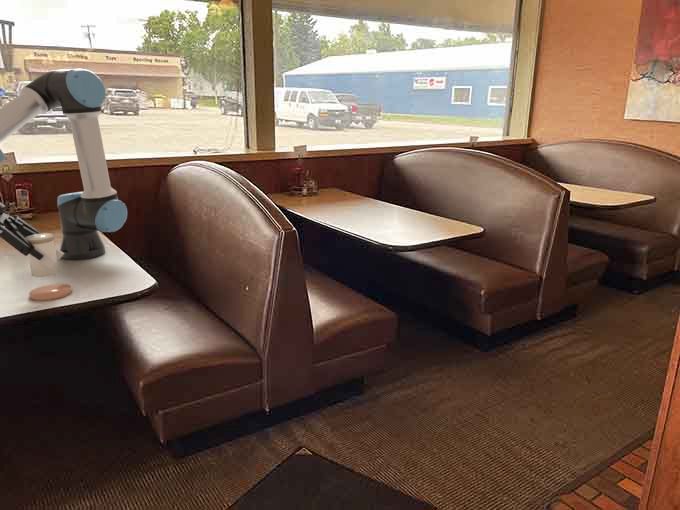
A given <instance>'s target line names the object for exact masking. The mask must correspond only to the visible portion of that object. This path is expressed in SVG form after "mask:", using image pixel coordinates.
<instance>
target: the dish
mask: <svg viewBox="0 0 680 510" xmlns="http://www.w3.org/2000/svg"><path fill="white" fill-rule="evenodd" d="M72 289H73V288H72V286H71V285H69V284H66V283H52V284H46V285H41V286H38V287H36V288H34V289H32V290H30V292H29V293H28V294H29V299H30V300H32V301H36V302H45V301H46V302H47V301H48V302H49V301H55V300H58V299H62V298H65V297H68V296H69V295H70V293H71V292H73V290H72ZM71 294H72V293H71Z"/></svg>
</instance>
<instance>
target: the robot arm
mask: <svg viewBox="0 0 680 510" xmlns="http://www.w3.org/2000/svg"><path fill="white" fill-rule="evenodd" d="M106 94H107V93H106V87H105V85H104V83H103V80H102V79H101V78H100V77H99V75H97V74H95V73H94V72H93V71H91V70H90V69H85V68H84V69H83V68H72V69H53V70H49V71H47V72H45V73H43V74H41V75H40V76H38V77H36V78H35V79H33V80H32V81H31V82H29V83H28V84H26V85H25V86H23V87H22V88H21V89H20V94H19V95H18V96H16V97H14V98H13V99H11V100H10V101H8V103H6V104H5V105H3V106H1V107H0V143H2V142H3V141H5V140H6V139H7V138H8V137H10V136H11V135H13V134H14V133H16V132H17V131H18V130H19V129H21V128H22V127H24V126H25V125H26V124H27V123H29V122H30V121H32V120H33V119H34V118H35V117H37V116H38V115H45V114H47V113H48V112H49V111H51V110H54V109H57V108H60V107H61V111H62V114H63V115H64V116H65V117H67V118H68V120H69V124H70V129H71V132H72V133H71V134H72V139H73V143H74V148H75V153H76V157H77V161H78V163H77V164H78V166H79V167H78V168H79V172H80V177H81V180H82V186H83V191H77V192H76V191H75V192H70V193H65V194H60V195H58V196H57V201H56V202H57V206H56V207H57V209H58V214H59V221H60V227H61V232H62V233H61V234H62V237H61V242H60V248H57V247H56V246H55V250H56V255H57V261H59V260H60V259H63V260H72V261H73V260H86V259H90V258H91V259H92V258H95V257H100V256H101V255H104V254H105V253H106V246H105V244H104V242H103V240H102V238H101V236H100V234H99V232H102V233H114V232H117V231H119V230H120V229H121V228H122V227H123V226H124V224H125V223H126V221H127V219H128V208H127V206H126V203H124V202H123V201H122V200H120V199H119V197H118V191H117V190H116V189H114V188H113V187H112V186H111V180H110V179H111V178H110V176H109V175H110V174H109V171H108V169H109V168H108V165H107V164H108V163H107V159H106V154H105V148H104V144H103V139H102V134H101V128H100V123H99V118H98V117H99V116H100V114H101V113H102V106H101V105H103V103H104V100H106ZM4 160H5V154H4V152H3V150H2V149H1V148H0V164H1V163H2V162H4ZM6 211H7V206H6V205H5V204H3V203H2V202H0V238H1V239H2V240H4V241H5V242H6V243H8V244H9V245H10V246H12V247H13V248H14V249H15V250H16V251H18V252H19V253H20V254H22V255H23V256H25V257H27V256H28V254H30V255H31V256H33V257H34V258H36V259H37V260H38V261H40V262H41V263H43V264H44V265H45V266H47V267H48V268H51V267H52V266H53V265H54V264H55V262H56V260H55V259H53V258H52V257H51V256H49V255H48V254H46V253H45V252H44V251H42V250H41V249H40V248H38V247H37V246H36V247H35V248H34V246H33V245H32V244H31V243H30V242H29V241H28V240H27V239H26V238H25V237H27V236H30V235H34V234H43V233H42V232H41V231H40V230H38V229H36V227H34V226H32V225H31V224H29V223H27V222H26V221H24V220H23V219H22V218H21V217H20V216H19V215H17V214H14V215H10V214H7V213H6ZM98 231H99V232H98Z"/></svg>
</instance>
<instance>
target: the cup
mask: <svg viewBox="0 0 680 510" xmlns="http://www.w3.org/2000/svg"><path fill="white" fill-rule="evenodd" d="M25 238H26V239H27V240H28V241H29V242H30V243H31V244H32V245H33V246H34V248H35V247H36V246H37V247H38V248H40V249H41V250H42V251H44V252H45V253H46V254H48V255H49V256H51V257H52V258H53V259H55V260H56V262H55V264H54V265H53V266H52V267H51V268H48V267H47V266H45V265H44V264H43V263H41V262H40V261H38V260H37V259H36V258H34V257H33V256H31V255H30V254H28V255H27V256H28V261H29V267H30V271H31V276H32V277H36V278H43V277H50V276H54V275H56V274H58V273H60V268H59V263H58V261H59V260H58V261H57V255H56V250H55V247H56V244H55V235H54V234H53V233H42V234H34V235H30V236H27V237H25Z"/></svg>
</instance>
